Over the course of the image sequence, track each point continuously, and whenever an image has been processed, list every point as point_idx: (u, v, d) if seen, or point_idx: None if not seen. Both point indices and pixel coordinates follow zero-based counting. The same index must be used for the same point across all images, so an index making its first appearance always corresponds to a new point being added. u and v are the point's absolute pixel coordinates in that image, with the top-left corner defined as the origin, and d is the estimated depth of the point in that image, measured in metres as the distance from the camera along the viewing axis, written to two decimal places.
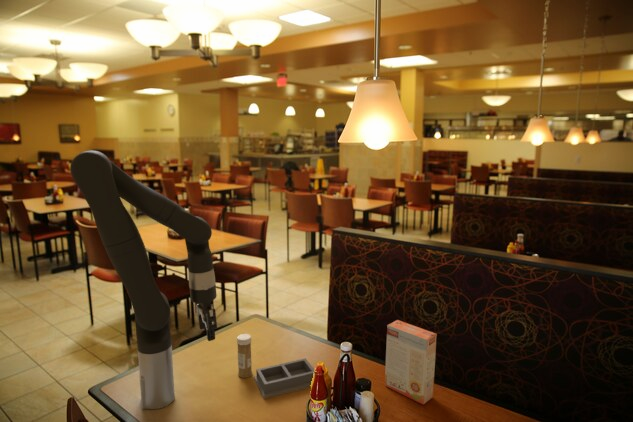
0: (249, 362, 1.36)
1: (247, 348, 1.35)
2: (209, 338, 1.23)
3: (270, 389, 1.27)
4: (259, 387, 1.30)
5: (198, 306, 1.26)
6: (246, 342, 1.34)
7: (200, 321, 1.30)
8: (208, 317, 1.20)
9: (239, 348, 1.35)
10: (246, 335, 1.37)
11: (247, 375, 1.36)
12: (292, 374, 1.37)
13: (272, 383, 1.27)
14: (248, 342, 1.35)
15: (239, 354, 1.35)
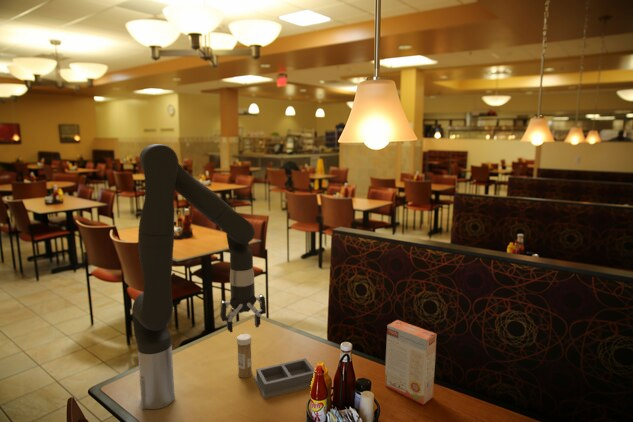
0: (249, 362, 1.36)
1: (247, 348, 1.35)
2: (259, 324, 1.37)
3: (270, 389, 1.27)
4: (259, 387, 1.30)
5: (242, 304, 1.32)
6: (246, 342, 1.34)
7: None
8: (264, 301, 1.36)
9: (239, 348, 1.35)
10: (246, 335, 1.37)
11: (247, 375, 1.36)
12: (292, 374, 1.37)
13: (272, 383, 1.27)
14: (248, 342, 1.35)
15: (239, 354, 1.35)
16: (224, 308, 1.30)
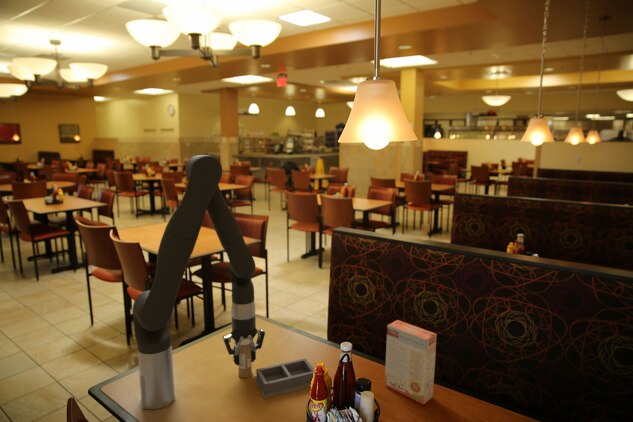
0: (249, 362, 1.36)
1: (247, 348, 1.35)
2: (254, 358, 1.38)
3: (270, 389, 1.27)
4: (259, 387, 1.30)
5: (242, 336, 1.34)
6: (246, 342, 1.34)
7: (238, 357, 1.36)
8: None
9: None
10: None
11: (247, 375, 1.36)
12: (292, 374, 1.37)
13: (272, 383, 1.27)
14: (248, 342, 1.35)
15: (239, 354, 1.35)
16: (227, 343, 1.33)
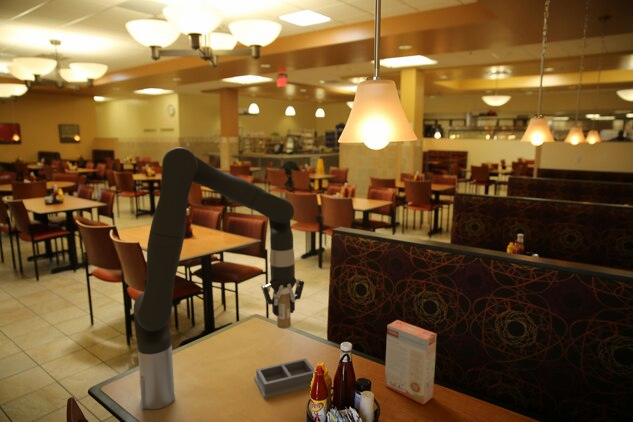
0: (288, 312, 1.32)
1: (287, 298, 1.30)
2: (293, 309, 1.34)
3: (270, 389, 1.27)
4: (259, 387, 1.30)
5: (282, 285, 1.29)
6: (286, 291, 1.30)
7: None
8: None
9: None
10: None
11: (287, 326, 1.32)
12: (292, 374, 1.37)
13: (272, 383, 1.27)
14: (288, 291, 1.30)
15: (278, 304, 1.31)
16: (267, 292, 1.28)
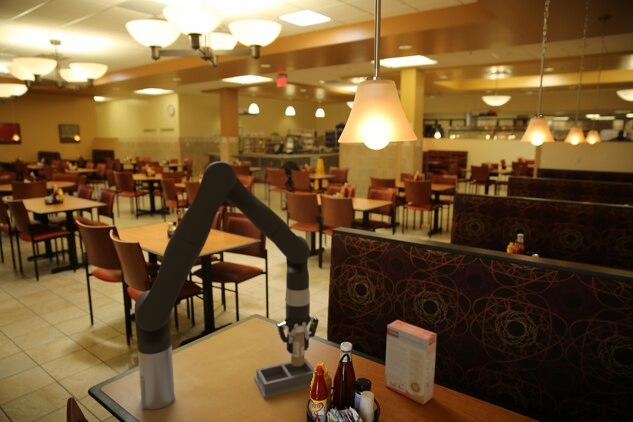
0: (303, 350, 1.33)
1: (301, 336, 1.31)
2: (307, 347, 1.35)
3: (270, 389, 1.27)
4: (259, 387, 1.30)
5: (297, 323, 1.30)
6: (301, 329, 1.31)
7: None
8: None
9: None
10: None
11: (300, 363, 1.33)
12: (292, 374, 1.37)
13: (272, 383, 1.27)
14: (302, 329, 1.31)
15: (293, 342, 1.32)
16: (282, 331, 1.29)
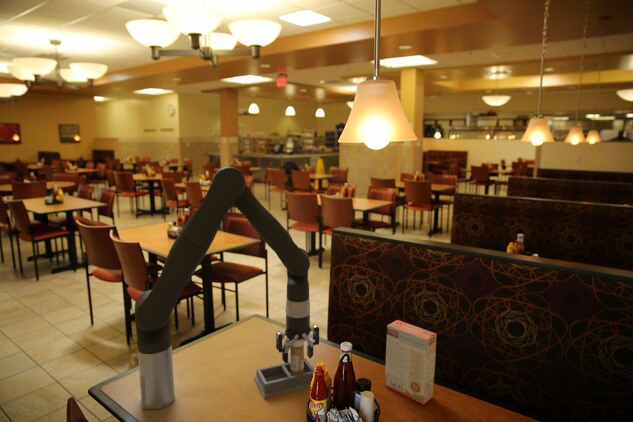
0: (302, 364, 1.33)
1: (301, 350, 1.32)
2: (312, 354, 1.36)
3: (270, 389, 1.27)
4: (259, 387, 1.30)
5: (297, 335, 1.31)
6: (300, 343, 1.31)
7: None
8: None
9: (292, 350, 1.32)
10: None
11: None
12: None
13: (272, 383, 1.27)
14: (302, 344, 1.32)
15: (292, 356, 1.32)
16: (280, 339, 1.29)
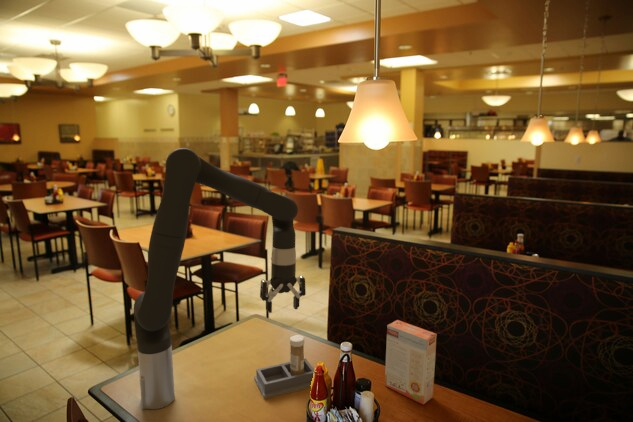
0: (302, 364, 1.33)
1: (300, 350, 1.32)
2: (298, 306, 1.34)
3: (270, 389, 1.27)
4: (259, 387, 1.30)
5: (282, 284, 1.29)
6: (300, 343, 1.31)
7: None
8: None
9: (292, 350, 1.32)
10: (299, 336, 1.34)
11: None
12: None
13: (272, 383, 1.27)
14: (302, 344, 1.32)
15: (292, 356, 1.32)
16: (265, 287, 1.27)
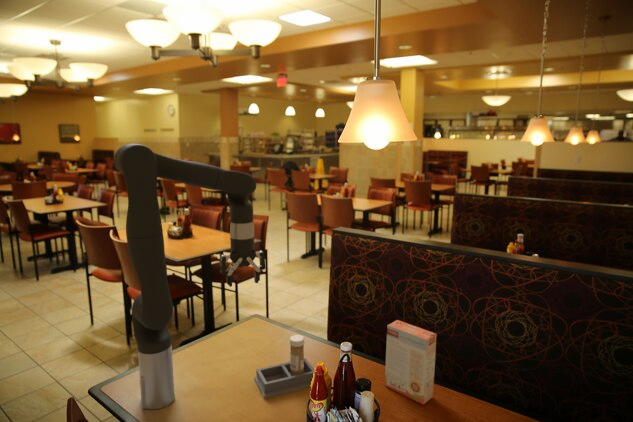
0: (302, 364, 1.33)
1: (300, 350, 1.32)
2: (258, 279, 1.37)
3: (270, 389, 1.27)
4: (259, 387, 1.30)
5: (242, 258, 1.32)
6: (300, 343, 1.31)
7: (231, 278, 1.33)
8: None
9: (292, 350, 1.32)
10: (299, 336, 1.34)
11: None
12: None
13: (272, 383, 1.27)
14: (302, 344, 1.32)
15: (292, 356, 1.33)
16: (224, 261, 1.31)
